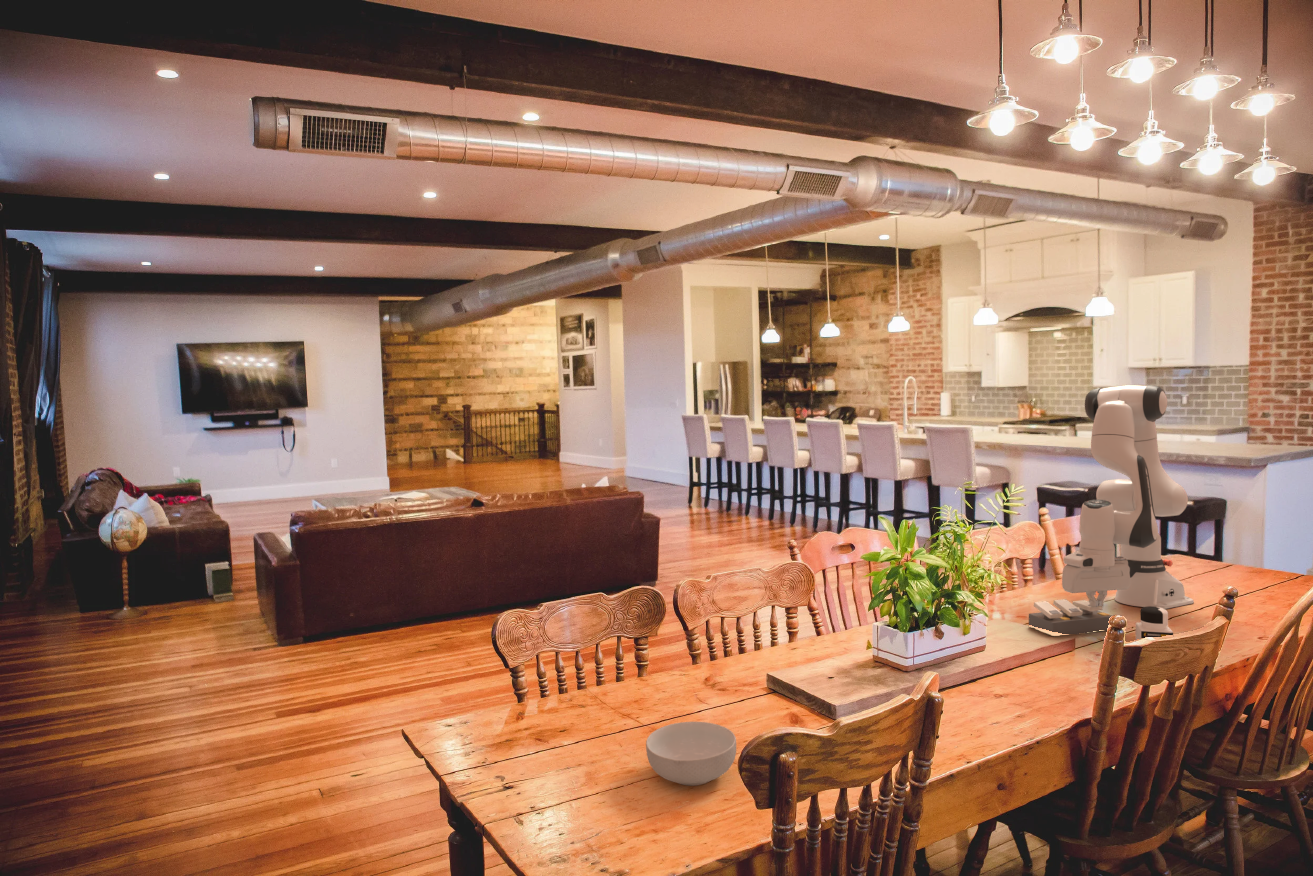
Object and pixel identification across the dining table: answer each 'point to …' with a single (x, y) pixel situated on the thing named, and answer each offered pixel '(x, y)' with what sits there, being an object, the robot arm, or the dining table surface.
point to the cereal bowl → (691, 752)
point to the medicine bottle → (1153, 623)
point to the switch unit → (1071, 622)
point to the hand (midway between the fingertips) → (1096, 606)
